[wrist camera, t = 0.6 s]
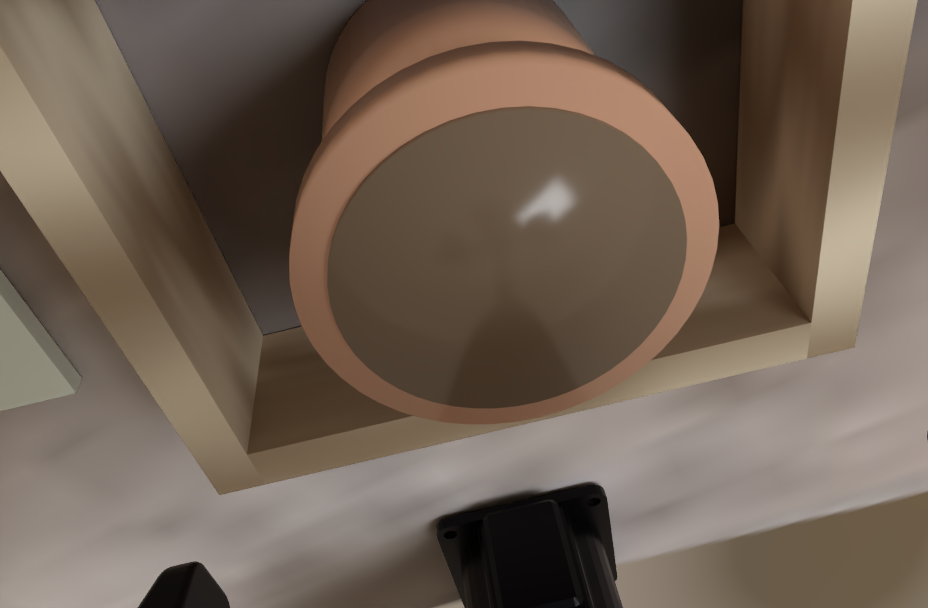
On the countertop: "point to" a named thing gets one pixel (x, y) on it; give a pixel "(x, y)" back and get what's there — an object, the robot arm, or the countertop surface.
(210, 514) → the countertop surface
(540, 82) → the terracotta pot
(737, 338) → the cold frame
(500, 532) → the robot arm
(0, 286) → the sage tile
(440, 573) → the countertop surface
